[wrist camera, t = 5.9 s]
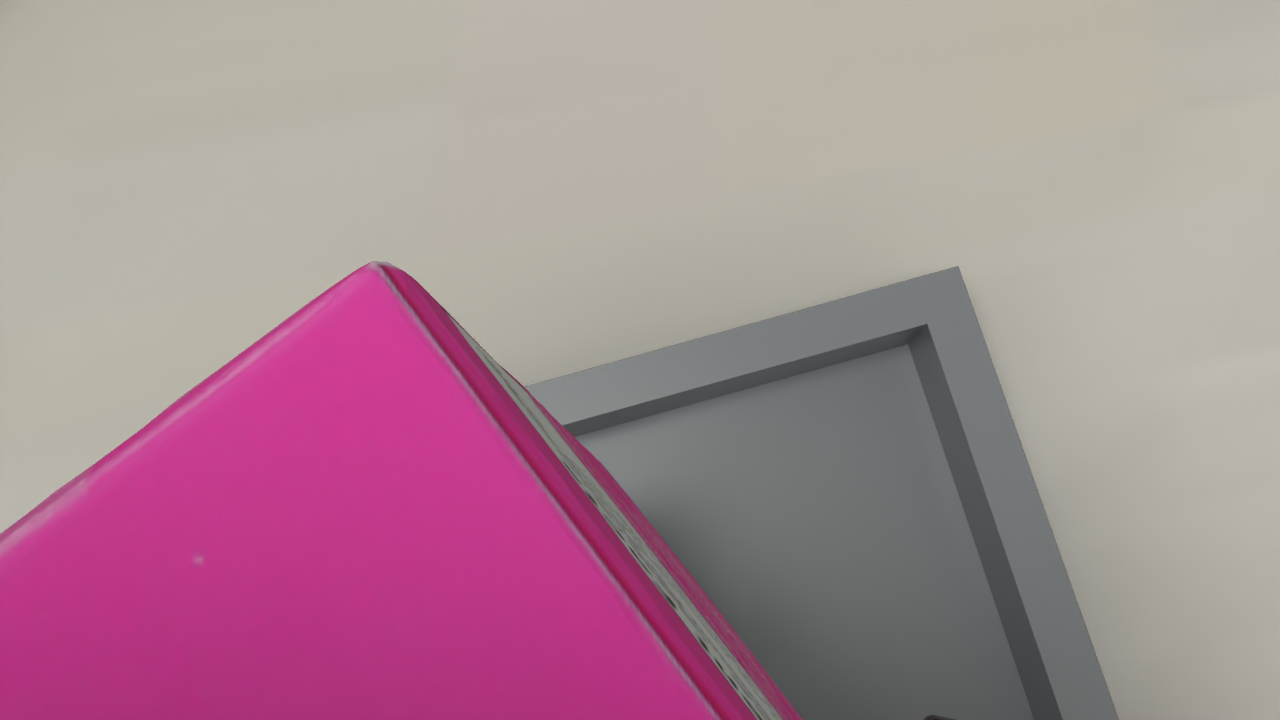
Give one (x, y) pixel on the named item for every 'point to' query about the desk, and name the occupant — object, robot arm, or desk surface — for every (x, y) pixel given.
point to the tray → (853, 506)
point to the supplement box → (359, 551)
